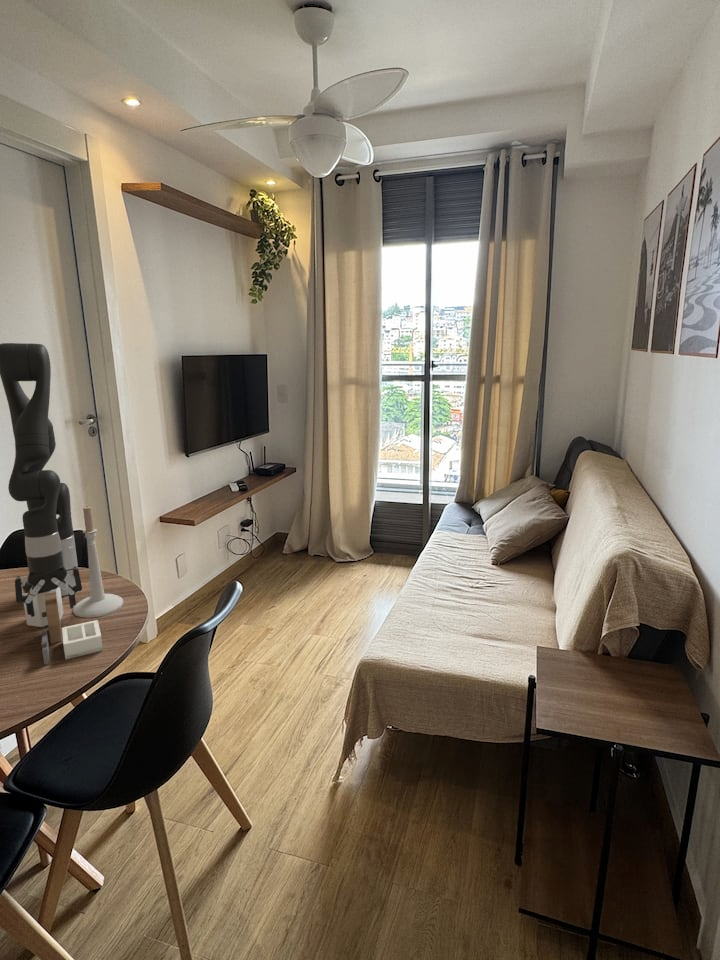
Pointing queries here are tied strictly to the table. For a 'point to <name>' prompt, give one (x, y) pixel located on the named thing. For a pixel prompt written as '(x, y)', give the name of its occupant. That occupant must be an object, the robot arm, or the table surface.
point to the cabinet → (76, 640)
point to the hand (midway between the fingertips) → (52, 611)
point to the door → (52, 617)
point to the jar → (40, 606)
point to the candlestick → (95, 580)
